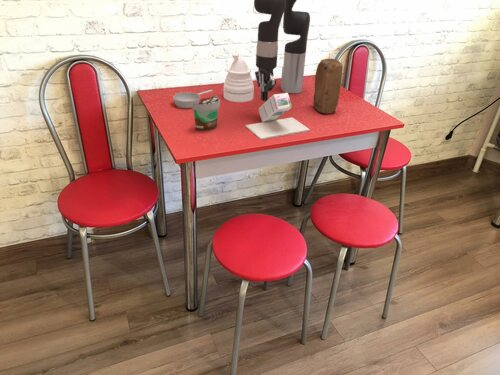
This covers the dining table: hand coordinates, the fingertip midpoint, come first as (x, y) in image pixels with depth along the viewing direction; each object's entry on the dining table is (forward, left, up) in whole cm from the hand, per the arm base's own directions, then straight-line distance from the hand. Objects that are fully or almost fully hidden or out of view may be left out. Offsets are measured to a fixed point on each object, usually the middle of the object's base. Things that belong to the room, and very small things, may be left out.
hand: (264, 100), depth 157 cm
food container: (0, -22, -7) cm, 23 cm away
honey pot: (-25, +1, -7) cm, 26 cm away
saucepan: (-25, -19, -8) cm, 32 cm away
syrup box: (+2, 0, -5) cm, 5 cm away
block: (+1, +27, -7) cm, 28 cm away
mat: (+11, 0, -7) cm, 13 cm away
